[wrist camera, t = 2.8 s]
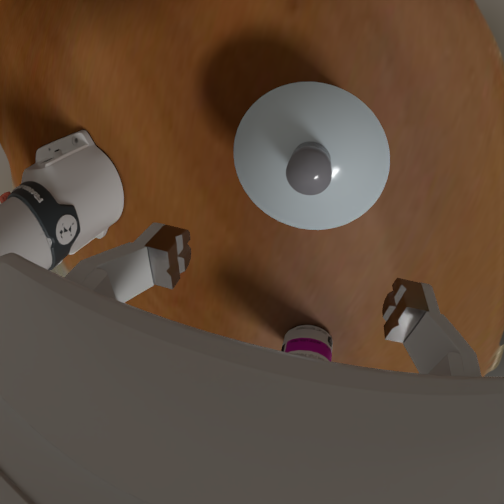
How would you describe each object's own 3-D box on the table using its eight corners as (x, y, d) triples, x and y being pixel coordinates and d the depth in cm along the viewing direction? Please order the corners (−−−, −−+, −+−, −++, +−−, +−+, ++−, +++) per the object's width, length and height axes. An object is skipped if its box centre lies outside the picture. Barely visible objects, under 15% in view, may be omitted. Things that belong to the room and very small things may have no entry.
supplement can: (304, 315, 41) (288, 402, 30) (342, 337, 42) (336, 420, 31) (275, 337, 46) (255, 414, 34) (312, 356, 47) (299, 430, 36)
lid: (232, 208, 27) (216, 232, 23) (243, 72, 19) (224, 71, 15) (364, 237, 25) (369, 266, 21) (402, 104, 17) (419, 110, 13)
